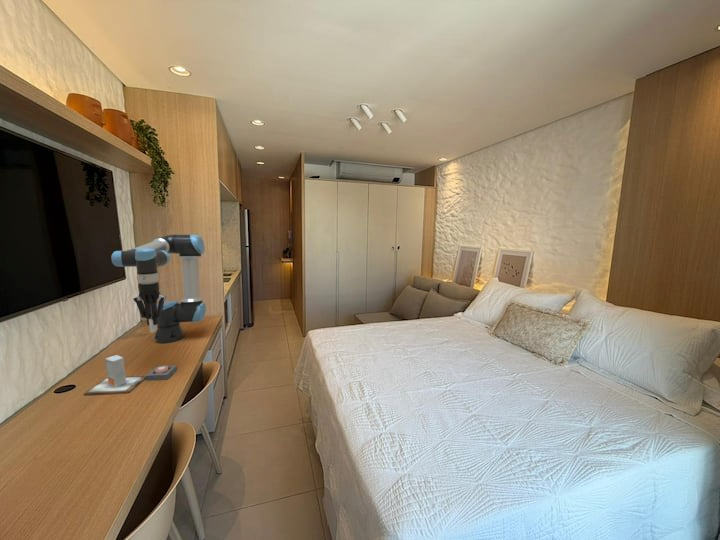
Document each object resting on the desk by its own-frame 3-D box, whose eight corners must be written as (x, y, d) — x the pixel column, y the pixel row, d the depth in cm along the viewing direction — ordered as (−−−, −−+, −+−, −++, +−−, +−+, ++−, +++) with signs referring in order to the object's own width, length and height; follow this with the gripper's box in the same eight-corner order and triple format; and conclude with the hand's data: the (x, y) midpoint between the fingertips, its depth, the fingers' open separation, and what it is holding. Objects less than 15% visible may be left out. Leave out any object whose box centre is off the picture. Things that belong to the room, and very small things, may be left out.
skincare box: (107, 384, 124) (104, 358, 122) (119, 379, 128) (116, 354, 126) (115, 387, 121) (112, 361, 120) (126, 383, 125) (124, 357, 124)
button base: (157, 370, 138) (157, 366, 138) (177, 370, 139) (176, 365, 139) (146, 380, 129) (145, 375, 129) (167, 379, 131) (167, 374, 130)
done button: (159, 371, 136) (158, 365, 136) (170, 371, 137) (170, 365, 137) (153, 376, 132) (152, 370, 131) (165, 376, 132) (164, 370, 132)
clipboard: (107, 379, 130) (107, 376, 130) (147, 377, 132) (147, 374, 132) (83, 395, 117) (83, 392, 117) (128, 393, 119) (128, 390, 119)
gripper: (127, 284, 126) (133, 334, 130) (159, 284, 128) (164, 333, 132) (137, 280, 133) (142, 328, 137) (168, 280, 135) (172, 328, 139)
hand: (153, 331), depth 134 cm, fingers closed
